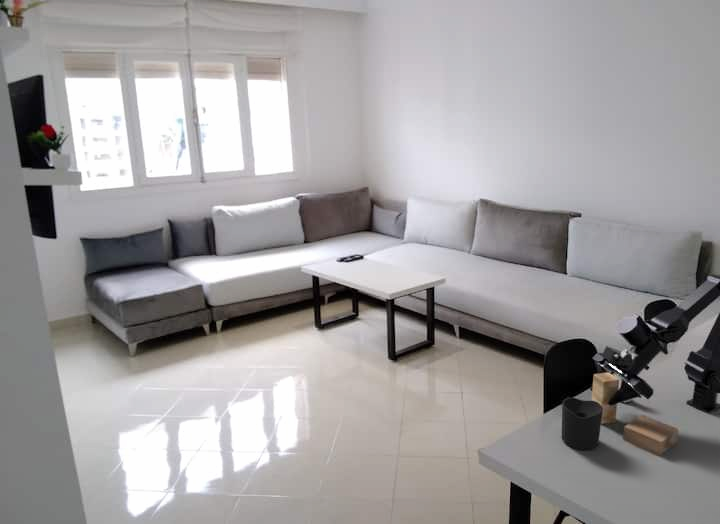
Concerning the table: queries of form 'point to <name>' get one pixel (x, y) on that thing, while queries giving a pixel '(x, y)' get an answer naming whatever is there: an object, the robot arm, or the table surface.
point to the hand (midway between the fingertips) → (599, 397)
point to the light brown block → (650, 434)
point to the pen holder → (581, 423)
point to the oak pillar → (605, 394)
